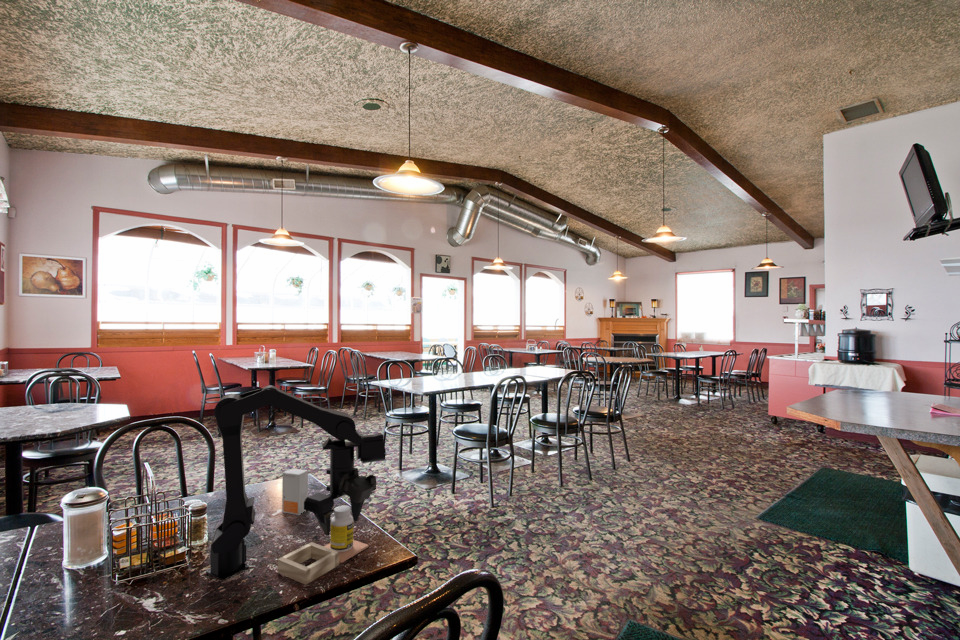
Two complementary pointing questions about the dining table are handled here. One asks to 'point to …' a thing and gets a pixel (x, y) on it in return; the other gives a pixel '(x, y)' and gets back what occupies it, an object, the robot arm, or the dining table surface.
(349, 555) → the tile
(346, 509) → the supplement bottle
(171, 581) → the dining table surface
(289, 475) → the skincare box
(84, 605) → the dining table surface
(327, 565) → the pocket block
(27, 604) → the dining table surface
